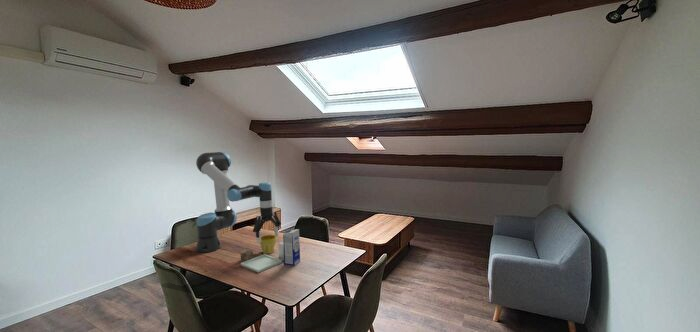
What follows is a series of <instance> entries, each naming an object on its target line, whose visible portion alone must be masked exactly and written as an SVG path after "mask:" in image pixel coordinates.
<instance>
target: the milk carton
mask: <svg viewBox="0 0 700 332" xmlns="http://www.w3.org/2000/svg"><path fill="white" fill-rule="evenodd" d="M282 242H283V248H284V260H283V265H285V266H289V267H290V266H292V267H295V266H296V265H298V264H299V263H300V262H301V252H300V251H301V250H300V246H301V245H300V244H301V243H300V228H298V229H297V228H296V229H287V230H285V233H283V234H282Z"/></svg>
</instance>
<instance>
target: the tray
mask: <svg viewBox="0 0 700 332" xmlns="http://www.w3.org/2000/svg"><path fill="white" fill-rule="evenodd" d="M282 263H283V260H281V259H279V257H274V256H271V255H269V254H264V253H263V254H260V255H257V256H255V257H253V259H250V260H247V261H241V262H240V266H241V267H242V268H246V269H248V270H250V271H253V272H255V273H258V274H259V273H261V272H264V271H267V270H268V269H271V268H273V267H275V266H277V265H279V264H282Z"/></svg>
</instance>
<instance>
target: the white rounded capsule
mask: <svg viewBox="0 0 700 332" xmlns="http://www.w3.org/2000/svg"><path fill="white" fill-rule="evenodd" d="M277 248H278V259H281V260H282V261H284V248H283V241H280V242H279V243H278V247H277Z"/></svg>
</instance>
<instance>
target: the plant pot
mask: <svg viewBox="0 0 700 332" xmlns="http://www.w3.org/2000/svg"><path fill="white" fill-rule="evenodd" d="M276 242H277V236H275V234H265V235H261V243H259V244H260V247H261V250H262V253H263V254H266V255H269V254H272V253H273V252H274V250H275V246H276V245H275V244H276Z"/></svg>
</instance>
